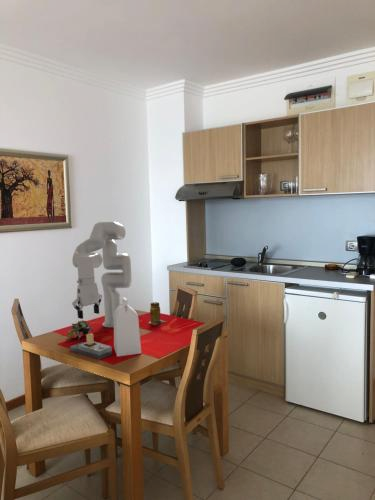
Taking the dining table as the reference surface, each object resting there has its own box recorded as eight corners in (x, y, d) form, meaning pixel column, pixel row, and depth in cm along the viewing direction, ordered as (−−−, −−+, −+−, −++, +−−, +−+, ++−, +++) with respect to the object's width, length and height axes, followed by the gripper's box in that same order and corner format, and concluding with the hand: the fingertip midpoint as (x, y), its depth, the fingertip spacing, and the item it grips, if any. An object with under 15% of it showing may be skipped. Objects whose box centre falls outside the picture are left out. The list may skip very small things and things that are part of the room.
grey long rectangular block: (70, 350, 206) (69, 341, 205) (82, 345, 212) (82, 337, 211) (99, 359, 192) (99, 350, 192) (111, 354, 198) (111, 345, 198)
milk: (141, 353, 199) (138, 300, 196) (117, 356, 196) (114, 302, 193) (137, 345, 211) (134, 295, 207) (114, 348, 207) (111, 297, 204)
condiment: (147, 322, 250) (147, 303, 249) (159, 319, 255) (158, 300, 254) (154, 325, 244) (153, 305, 243) (166, 322, 249) (165, 302, 248)
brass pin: (86, 352, 203) (85, 334, 202) (92, 350, 204) (91, 333, 203) (88, 354, 200) (87, 336, 199) (95, 352, 202) (94, 334, 201)
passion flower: (84, 345, 229) (97, 326, 229) (78, 348, 218) (91, 329, 219) (68, 333, 230) (80, 315, 230) (61, 336, 219) (74, 317, 219)
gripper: (76, 285, 189) (79, 321, 191) (105, 278, 203) (107, 312, 205) (66, 283, 194) (69, 319, 196) (95, 277, 207) (97, 310, 209)
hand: (88, 315), depth 200 cm, fingers open, 9 cm apart
